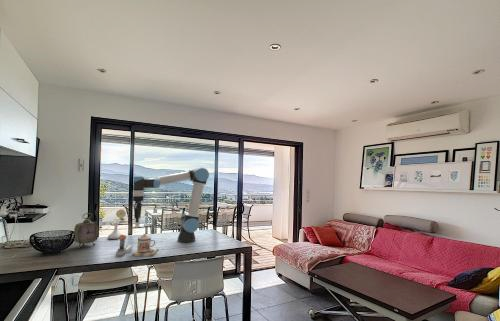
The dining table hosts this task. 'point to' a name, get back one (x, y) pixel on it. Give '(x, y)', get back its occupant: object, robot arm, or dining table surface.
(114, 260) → the dining table surface
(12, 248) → the dining table surface
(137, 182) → the robot arm
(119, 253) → the lever track
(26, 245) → the dining table surface
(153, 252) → the press bed
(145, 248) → the teacup with lid
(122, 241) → the lever handle
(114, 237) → the flower in vase
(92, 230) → the tabletop clock
